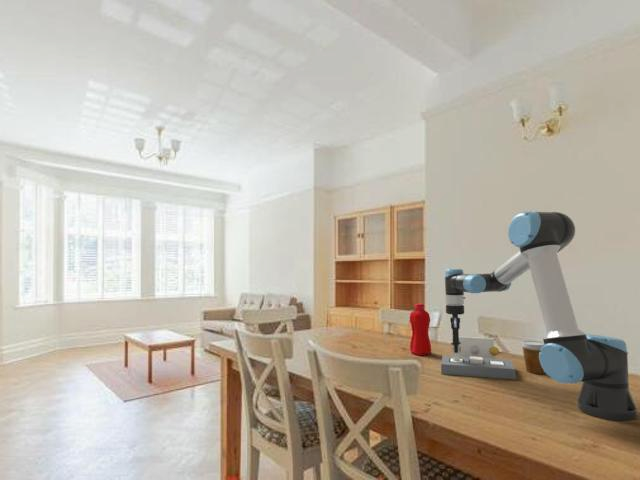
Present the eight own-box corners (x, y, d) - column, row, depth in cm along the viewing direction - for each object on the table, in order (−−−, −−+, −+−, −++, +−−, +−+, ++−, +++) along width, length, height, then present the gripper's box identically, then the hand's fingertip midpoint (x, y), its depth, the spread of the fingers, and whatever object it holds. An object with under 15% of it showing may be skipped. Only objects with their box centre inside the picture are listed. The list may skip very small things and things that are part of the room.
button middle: (483, 367, 167) (483, 360, 168) (470, 366, 169) (470, 359, 169) (482, 364, 172) (482, 357, 172) (470, 363, 174) (469, 356, 174)
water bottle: (404, 352, 206) (403, 303, 207) (423, 350, 210) (422, 302, 211) (414, 356, 197) (413, 305, 199) (433, 354, 201) (432, 304, 202)
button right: (504, 372, 165) (504, 364, 165) (491, 371, 166) (490, 364, 167) (503, 369, 170) (502, 361, 170) (490, 368, 171) (490, 361, 171)
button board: (515, 379, 158) (515, 369, 159) (441, 373, 167) (441, 364, 168) (510, 368, 174) (510, 359, 174) (442, 364, 183) (442, 355, 183)
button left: (462, 369, 170) (462, 362, 170) (450, 368, 172) (450, 361, 172) (462, 366, 175) (462, 359, 175) (450, 365, 176) (450, 358, 176)
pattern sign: (499, 365, 180) (498, 339, 180) (452, 361, 186) (451, 336, 187) (498, 361, 186) (497, 336, 186) (452, 358, 192) (451, 334, 193)
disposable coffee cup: (552, 375, 164) (551, 345, 165) (529, 375, 164) (527, 345, 165) (540, 368, 173) (539, 340, 174) (518, 368, 174) (517, 340, 174)
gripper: (464, 306, 167) (465, 364, 166) (463, 303, 179) (465, 356, 178) (445, 306, 169) (446, 362, 168) (446, 302, 182) (447, 355, 181)
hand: (456, 359), depth 173 cm, fingers closed
